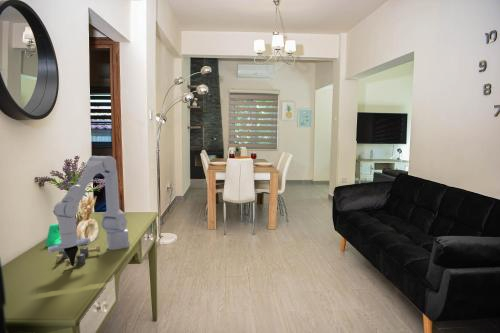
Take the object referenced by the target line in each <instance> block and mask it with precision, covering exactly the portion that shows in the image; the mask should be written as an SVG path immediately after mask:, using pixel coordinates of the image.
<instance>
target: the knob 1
mask: <svg viewBox="0 0 500 333" xmlns="http://www.w3.org/2000/svg"><path fill="white" fill-rule="evenodd" d="M66 259H69V258H68V256H67V254H66V253H65V251H64V250H59V251H58V254H57V255H55V262H56V263H59V262H61V261H65V260H66Z"/></svg>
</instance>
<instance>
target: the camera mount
mask: <svg viewBox="0 0 500 333" xmlns="http://www.w3.org/2000/svg"><path fill="white" fill-rule="evenodd" d="M48 227H49V228H48V232H47V237H46V243H45V247H47V248H48V247H51V246H54V245H57V244H60V243H61V239H60V231H59V223H53V224H52V223H51V224H50V225H49V226H48Z"/></svg>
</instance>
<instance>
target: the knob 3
mask: <svg viewBox="0 0 500 333" xmlns="http://www.w3.org/2000/svg"><path fill="white" fill-rule="evenodd" d="M93 252H94V253H95V252H96V253H101V248H100V245H96V247H93V248H89V247H88V246H83V247H81V248H80V247H79V254H85V258H88V257H89V256H90V254H89V253H93Z"/></svg>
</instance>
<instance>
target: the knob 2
mask: <svg viewBox="0 0 500 333" xmlns="http://www.w3.org/2000/svg"><path fill="white" fill-rule="evenodd" d="M75 262H77V263H75ZM74 264H76V265H77V266H83V265H85V264H86V257H85V254H80V253H77V254H76V257H75V261H74ZM70 265H71V262H70V260H69V258H68V259H66V260H64V266H65V267H69V266H70Z"/></svg>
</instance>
